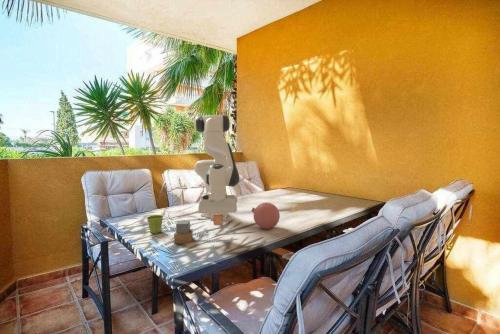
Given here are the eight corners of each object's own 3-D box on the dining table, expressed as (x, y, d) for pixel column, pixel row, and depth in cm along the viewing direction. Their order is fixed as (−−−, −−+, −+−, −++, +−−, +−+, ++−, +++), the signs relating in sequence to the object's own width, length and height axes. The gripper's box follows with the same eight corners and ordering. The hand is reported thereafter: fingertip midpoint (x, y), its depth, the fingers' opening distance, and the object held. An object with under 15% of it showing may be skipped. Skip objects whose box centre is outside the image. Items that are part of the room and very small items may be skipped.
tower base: (177, 238, 156) (177, 229, 156) (192, 238, 156) (192, 229, 156) (174, 243, 148) (174, 234, 148) (190, 243, 148) (189, 233, 148)
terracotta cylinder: (213, 222, 157) (213, 213, 156) (223, 222, 157) (222, 213, 156) (213, 225, 152) (212, 216, 151) (222, 225, 152) (222, 215, 152)
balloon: (262, 221, 186) (262, 198, 185) (285, 228, 170) (285, 203, 169) (243, 226, 176) (243, 201, 175) (265, 234, 161) (265, 206, 160)
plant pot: (146, 235, 161) (145, 219, 161) (147, 230, 170) (146, 215, 170) (164, 233, 164) (163, 218, 163) (164, 228, 173) (163, 214, 172)
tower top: (178, 230, 154) (178, 220, 154) (190, 229, 155) (189, 220, 154) (176, 233, 148) (176, 224, 148) (188, 233, 149) (188, 223, 148)
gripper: (237, 193, 156) (237, 218, 158) (199, 194, 155) (199, 219, 157) (237, 196, 150) (237, 222, 152) (197, 196, 149) (198, 222, 151)
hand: (218, 220), depth 154 cm, fingers closed on terracotta cylinder, 5 cm apart
